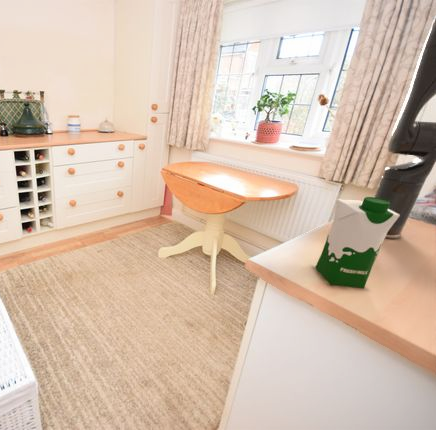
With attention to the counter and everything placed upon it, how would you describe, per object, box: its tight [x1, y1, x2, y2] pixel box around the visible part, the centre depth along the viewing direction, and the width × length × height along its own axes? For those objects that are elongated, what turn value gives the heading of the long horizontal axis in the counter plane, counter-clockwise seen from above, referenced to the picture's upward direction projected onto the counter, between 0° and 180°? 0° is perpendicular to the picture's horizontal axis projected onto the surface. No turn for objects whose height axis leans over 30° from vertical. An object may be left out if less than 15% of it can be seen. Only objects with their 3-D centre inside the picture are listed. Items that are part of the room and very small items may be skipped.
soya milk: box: [314, 196, 400, 289], centre depth 64 cm, size 9×9×20 cm
